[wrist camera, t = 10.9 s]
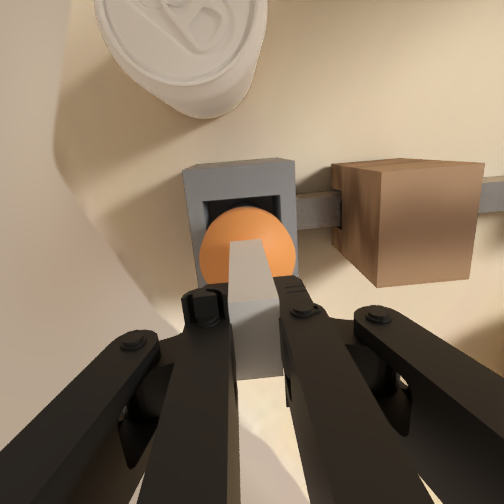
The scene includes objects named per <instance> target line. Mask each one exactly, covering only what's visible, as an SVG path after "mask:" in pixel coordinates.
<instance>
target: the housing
mask: <svg viewBox="0 0 504 504" xmlns="http://www.w3.org/2000/svg"><path fill="white" fill-rule="evenodd" d="M182 174H183V181H184V188H185V195H186V202H187V209H188V216H189V223H190V230H191V237H192V244H193V252H194V259H195V266H196V273H197V280H198V287H199V288H203V287H204V286H205V285H206V284H207V282H206V281H205V279H204V277H203V275H202V272H201V269H200V263H199V254H200V248H201V245H202V242H203V239H204V236H205V233H206V231H207V229H208V227H209V226H210V225H211V223H212V222H213V221H214V220H215V219H216V218H217V217H218V216H220V215H221V214H223V213H224V211H225V210H226V209H227V208H228V207H230V206H231V205H233V204H235V203H239V202H248V203H252V204H254V205H256V206H258V207H259V208H260V209H263V210H265V211H267V212H269V213H271V214H272V215H274V216H275V217H276V218H277V219H278V220H279V221H280V222H281V223H282V224H283V226H284V227H285V229H286V230H287V232H288V233H289V235H290V237H291V239H292V241H293V244H294V248H295V254H296V260H295V267H294V270H293V273H292V275H294V276H296V277H298V278H299V268H298V242H297V215H296V188H295V162H294V161H292V160H287V159H282V158H267V159H255V160H243V161H231V162H220V163H208V164H196V165H194V166H191V167H189V168H187V169H184V170H182Z"/></svg>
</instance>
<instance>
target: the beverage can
mask: <svg viewBox="0 0 504 504" xmlns="http://www.w3.org/2000/svg"><path fill="white" fill-rule="evenodd" d="M94 6H95V13H96V17H97V21H98V25H99V28H100V31H101V34H102V36H103V39H104V41H105V43H106V45H107V47H108V49H109V51H110V53H111V54H112V56H113V57H114V59H115V60H116V62H117V63H118V65H119V66H120V67H121V68H122V70H123V71H124V72H125V73H126V74H127V75H128V76H129V77H130V78H131V79H132V80H133V81H135V82H136V83H137V84H138V85H140V86H141V87H142V88H144V89H145V90H147V91H148V92H150V93H151V94H153V95H154V96H156V97H157V98H159V99H160V100H162V101H163V102H165V103H166V104H168V105H169V106H171V107H172V108H174V109H175V110H177V111H178V112H180V113H182V114H184V115H187V116H189V117H193V118H198V119H211V118H216V117H219V116H222V115H224V114H226V113H228V112H230V111H231V110H233V109H234V108H235V107H236V106H237V105H238V104H239V103H240V102H241V101H242V100H243V98H244V97H245V96H246V94H247V92H248V90H249V88H250V86H251V83H252V80H253V76H254V73H255V69H256V65H257V62H258V58H259V54H260V51H261V47H262V44H263V40H264V36H265V31H266V25H267V15H268V3H267V0H94Z"/></svg>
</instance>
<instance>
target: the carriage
mask: <svg viewBox="0 0 504 504" xmlns="http://www.w3.org/2000/svg"><path fill="white" fill-rule="evenodd" d="M484 167H485V163H475V162H457V161H440V160H422V159H405V158H397V159H385V160H374V161H362V162H350V163H339V164H332V188H334V189H336V190H339V191H341V192H342V226H334V227H332V245H333V246H334V247H335V248H336V249H337V250H338V251H339V252H340V253H341V254H342V255H343V256H344V257H345V258H346V259H348V260H349V261H350V262H351V263H352V264H353V265H354V266H355V267H356V268H357V269H358V270H359V271H360V272H361V273H362V274H363V275H364V276H365V277H366V278H367V279H368V280H369V281H370V282H371V283H372V284H373V285H374V286H375V287H376V288H382V287H392V286H402V285H413V284H423V283H433V282H444V281H454V280H465V279H469V275H470V268H471V260H472V253H473V246H474V239H475V232H476V224H477V217H478V210H479V203H480V195H481V188H482V181H483V174H484Z"/></svg>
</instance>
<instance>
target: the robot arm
mask: <svg viewBox="0 0 504 504" xmlns="http://www.w3.org/2000/svg"><path fill="white" fill-rule="evenodd" d="M181 302H182V308H183V314H184V321H185V326H184V330H183V332H182V333H180V334H179V335H176V336H174V337H171V338H167V339H164V340H160V341H159V340H158V336H157V333H155V332H153V331H150V330H134V331H130V332H127V333H126V334H123V335H121V336H119V337H118V338H116V339H115V340H114V341H112V342H111V343H110V344H109V345H108V346H107V347H106V348H105V349H104V350H103V351H102V352H101V353H100V354H99V355H98V356H97V357H96V358H95V359H94V360H93V361H92V362H91V363H90V364H89V365H88V366H87V367H86V368H85V369H84V370H83V371H82V372H81V373H80V374H79V375H78V376H77V377H76V378H75V379H74V380H73V381H72V382H70V383H69V384H68V385H67V386H66V388H64V389H63V390H62V391H61V392H60V394H58V395H57V396H56V397H55V398H54V399H53V400H52V401H51V402H50V403H49V404H48V405H47V406H46V407H45V408H44V409H43V410H42V411H41V412H40V413H39V414H38V415H37V416H36V417H35V418H34V419H33V420H32V421H31V422H30V423H29V424H28V425H27V426H26V427H25V428H24V429H23V430H22V431H21V432H20V433H19V434H18V435H17V436H16V437H15V438H14V439H13V440H12V441H11V442H10V443H9V444H8V445H7V446H6V447H5V448H3V450H1V451H0V504H129V501H130V500H131V498H132V496H133V494H134V492H135V490H136V488H137V486H138V484H139V482H140V480H141V478H142V476H143V474H144V472H145V474H144V478H143V482H142V485H141V489H140V493H139V497H138V500H137V504H241V503H240V502H241V501H240V462H239V461H240V460H239V417H238V388H237V381H238V380H247V379H257V378H266V377H276V376H284V374H285V391H286V407H290V411H291V416H292V420H293V425H294V430H295V434H296V439H297V443H298V448H299V453H300V457H301V462H302V467H303V471H304V476H305V481H306V485H307V490H308V494H309V499H310V504H434V502H433V500H432V498H431V496H430V495H429V493H428V491H427V489H426V488H425V486H424V484H423V482H422V481H421V479H420V477H421V478H422V479H423V480H424V481H425V483H426V484H427V485H428V486H429V487H430V489H431V490H432V491H433V492H434V493H435V495H436V496H437V497H438V498H439V499H440V501H441V502H442V503H443V504H504V378H503V377H501V376H499V375H498V374H496V373H495V372H493V371H491V370H490V369H488V368H487V367H485V366H483V365H482V364H480V363H479V362H477V361H475V360H474V359H472V358H471V357H469V356H468V355H466V354H464V353H463V352H461V351H460V350H458V349H456V348H455V347H453V346H452V345H450V344H448V343H447V342H445V341H444V340H442V339H441V338H439V337H437V336H436V335H434V334H433V333H431V332H429V331H428V330H426V329H425V328H423V327H421V326H420V325H418V324H417V323H415V322H414V321H412V320H410V319H409V318H407V317H406V316H404V315H402V314H401V313H399V312H397V311H395V310H393V309H391V308H387V307H383V306H379V305H377V306H376V305H371V306H365V307H362V308H359V309H357V310H356V311H355V312H354V320H343V319H335V318H331V317H329V316H328V314H327V313H326V311H325V309H324V308H323V307H322V306H320V305H318V304H315V303H313V301H312V299H311V298H310V296H309V294H308V292H307V290H306V288H305V286H304V284H303V282H302V280H301V279H299V278H298V277H296V276H294V275H289V276H279V277H272V274H271V271H270V267H269V264H268V261H267V258H266V254H265V251H264V248H263V245H262V241H261V239H253V240H242V241H231V242H230V254H229V282H226V283H215V284H206V285H205V286H204V287H203V288H198V289H195V290H192V291H189V292H188V293H186V294H184V295H183V297H182V298H181ZM283 368H284V374H283ZM400 376H402V377H403V379H404V380H405V381H406V382H407V384H408V386H406V385H405V384H404V383H403V382H402V381H400ZM236 379H237V380H236ZM418 474H419V475H418ZM419 476H420V477H419Z"/></svg>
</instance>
